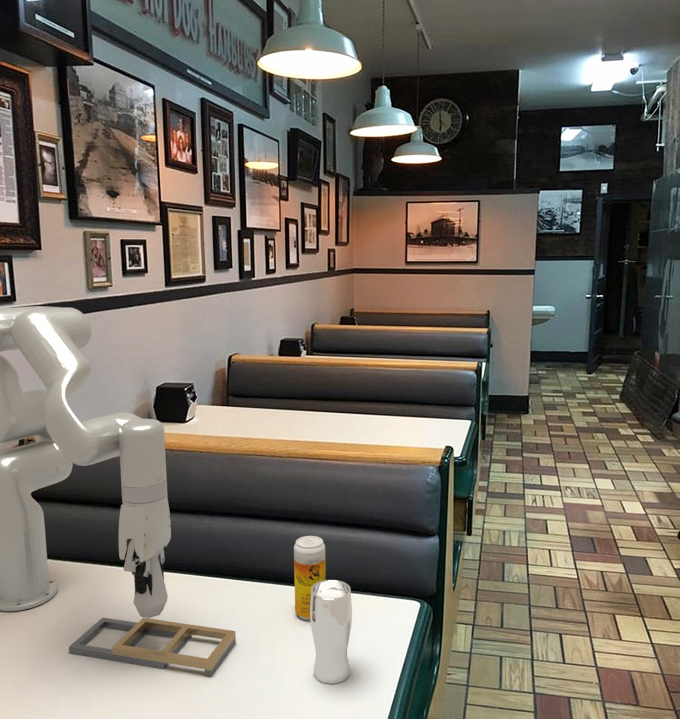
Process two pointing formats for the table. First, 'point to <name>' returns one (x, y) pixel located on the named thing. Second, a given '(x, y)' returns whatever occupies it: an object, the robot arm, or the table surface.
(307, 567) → the beer can
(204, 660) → the gold rectangular frame
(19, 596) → the robot arm
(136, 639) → the grey rectangular frame
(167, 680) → the table surface
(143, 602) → the salt shaker
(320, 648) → the beer glass
